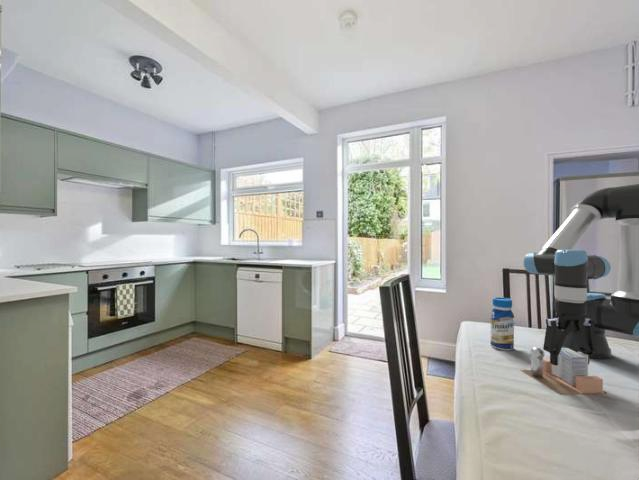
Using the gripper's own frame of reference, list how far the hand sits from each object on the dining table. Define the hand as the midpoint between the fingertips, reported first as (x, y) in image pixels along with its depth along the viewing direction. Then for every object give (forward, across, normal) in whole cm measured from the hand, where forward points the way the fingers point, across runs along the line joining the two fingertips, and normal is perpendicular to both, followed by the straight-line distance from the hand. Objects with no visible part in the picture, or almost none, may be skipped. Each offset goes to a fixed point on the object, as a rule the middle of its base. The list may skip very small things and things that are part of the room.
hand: (569, 374), depth 88 cm
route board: (+3, +2, 0) cm, 4 cm away
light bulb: (+2, +7, -4) cm, 8 cm away
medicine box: (+2, 0, 0) cm, 2 cm away
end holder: (+2, 0, 0) cm, 2 cm away
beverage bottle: (+3, -1, -31) cm, 31 cm away
